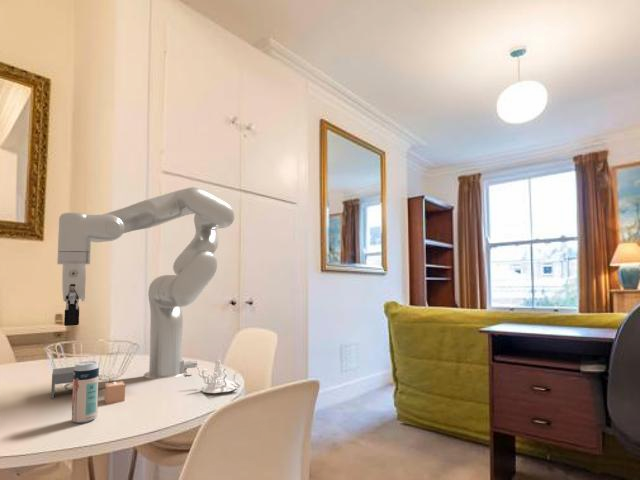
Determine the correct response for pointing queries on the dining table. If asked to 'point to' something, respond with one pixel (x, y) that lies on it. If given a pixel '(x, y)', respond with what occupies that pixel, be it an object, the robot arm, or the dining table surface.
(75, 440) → the dining table surface
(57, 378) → the cover
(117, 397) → the letter cube
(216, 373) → the tentacle sculpture
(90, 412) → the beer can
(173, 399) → the dining table surface
